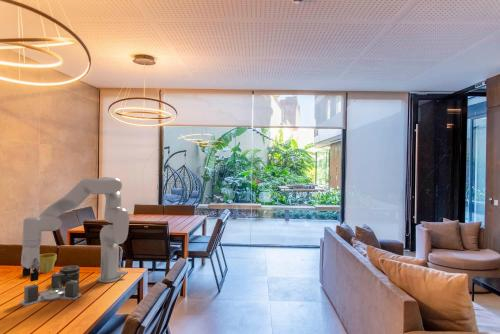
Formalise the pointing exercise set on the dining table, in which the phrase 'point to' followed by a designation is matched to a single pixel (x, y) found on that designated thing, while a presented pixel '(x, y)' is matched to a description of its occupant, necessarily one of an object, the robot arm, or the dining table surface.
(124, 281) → the dining table surface
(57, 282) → the knob
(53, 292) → the tribrach base
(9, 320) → the dining table surface
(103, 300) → the dining table surface
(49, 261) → the plant pot
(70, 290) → the knob
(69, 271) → the jar
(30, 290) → the knob
